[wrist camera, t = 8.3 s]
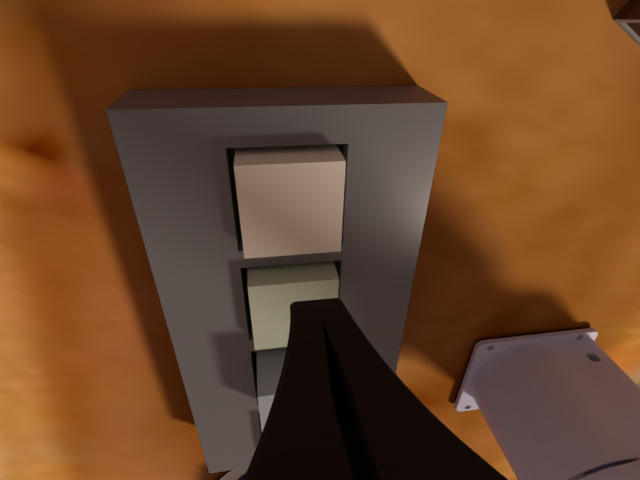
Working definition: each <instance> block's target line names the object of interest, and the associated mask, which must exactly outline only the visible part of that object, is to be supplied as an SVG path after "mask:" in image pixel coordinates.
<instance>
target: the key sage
mask: <svg viewBox="0 0 640 480" xmlns="http://www.w3.org/2000/svg"><path fill="white" fill-rule="evenodd" d="M338 292H339V277H338V274H337V270H336V267H335V264H334V261H325V262H312V263H299V264H287V265H274V266H261V267H249V268H248V295H249V304H250V313H251V322H252V330H253V339H254V348H255V350H262V349H272V348H281V347H287V344H288V338H289V331H290V305H291V304H292V303H293V302H296V301H307V300H318V299H330V298H338Z"/></svg>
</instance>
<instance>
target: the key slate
mask: <svg viewBox="0 0 640 480" xmlns="http://www.w3.org/2000/svg"><path fill="white" fill-rule="evenodd" d="M286 349H287V348H282V349H273V350H263V351H257V394H258V405H259V413H260V421H261V430H262V432H263V429H264V426H265V423H266V421H267V418H268V415H269V412H270V409H271V406H272V403H273V399H274V396H275V392H276V389H277V385H278V382H279V378H280V375H281V371H282V367H283V363H284V358H285V353H286Z"/></svg>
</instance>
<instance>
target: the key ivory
mask: <svg viewBox="0 0 640 480" xmlns="http://www.w3.org/2000/svg"><path fill="white" fill-rule="evenodd" d="M345 167H346V161H345V159H344V157H343V155H342V153H341V152H340V150H339V148H338V146H337V144H328V145H301V146H273V147H246V148H235V157H234V173H235V181H236V190H237V199H238V208H239V216H240V225H241V234H242V243H243V252H244V259H246V258H260V257H273V256H286V255H299V254H313V253H326V252H339V251H341V239H342V221H343V203H344V185H345Z"/></svg>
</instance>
